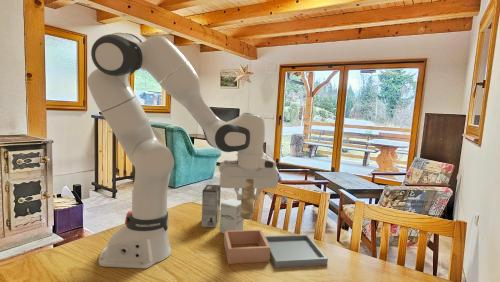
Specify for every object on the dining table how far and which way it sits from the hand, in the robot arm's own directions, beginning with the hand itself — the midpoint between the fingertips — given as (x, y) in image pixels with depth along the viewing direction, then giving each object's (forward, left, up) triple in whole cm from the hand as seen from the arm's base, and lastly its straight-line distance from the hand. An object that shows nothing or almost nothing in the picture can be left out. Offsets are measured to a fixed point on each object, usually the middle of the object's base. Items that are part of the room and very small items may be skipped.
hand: (247, 200), depth 100 cm
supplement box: (-3, +17, -19) cm, 26 cm away
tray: (+17, -2, -19) cm, 26 cm away
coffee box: (-11, +26, -19) cm, 34 cm away
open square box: (0, 0, -19) cm, 19 cm away
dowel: (0, 0, -6) cm, 6 cm away
